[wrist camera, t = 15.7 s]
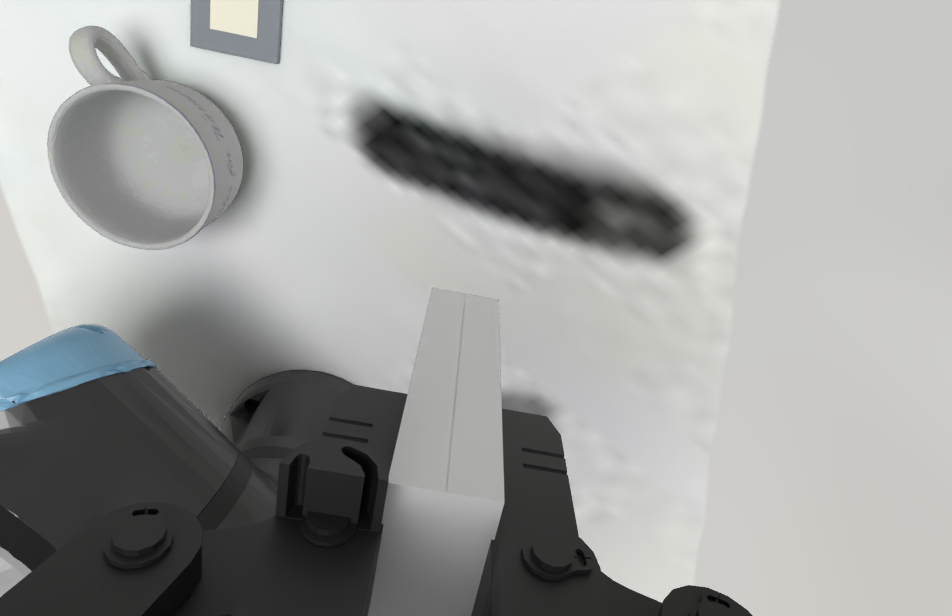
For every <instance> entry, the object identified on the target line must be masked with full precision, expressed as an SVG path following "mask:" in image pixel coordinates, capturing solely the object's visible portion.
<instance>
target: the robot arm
mask: <svg viewBox="0 0 952 616" xmlns="http://www.w3.org/2000/svg"><path fill="white" fill-rule="evenodd" d="M156 366H157V365H156V364H155V363H154V362H153V361H150V360H146V359H144V358H143V357H142V356H141V355H140V354H138V353H137V352H136V351H135V350H134V349H133V348H132V347H130V346H129V345H128V344H127V343H126V342H125V341H124V340H122V339H121V338H120V337H119V336H118V335H117V334H116V333H114V332H113V331H111V330H110V329H108V328H106V327H103V326H99V325H89V324H86V325H79V326H75V327H71V328H68V329H66V330H63V331H61V332H58V333H56V334H54V335H51V336H49V337H47V338H45V339H43V340H41V341H39V342H37V343H35V344H33V345H31V346H29V347H27V348H25V349H23V350H21V351H19V352H18V353H16V354H14V355H12V356H10V357H8V358H7V359H5V360H3V361H1V362H0V616H752V615H751V614H750V613H749V611H748V610H746V609H745V608H743V607H742V606H741V605H739V604H738V603H737V602H735V601H734V600H732V599H731V598H729V597H728V596H726V595H724V594H721V593H719V592H717V591H714V590H712V589H709V588H705V587H698V586H690V585H688V586H684V587H680V588H676V589H673V590H672V591H671V592H670V593H669V595H668V596H667V597H666V598H665V599H664V600H663V603H660V602H658V601H656V600H654V599H651V598H649V597H647V596H644V595H642V594H640V593H637V592H635V591H633V590H630V589H628V588H626V587H624V586H622V585H621V584H619V583H617V582H615V581H613V580H612V579H610V578H609V577H608V576H606V575H605V574H604V573H603V572H601V570H600V566H599V564H598V562H597V559H596V557H595V555H594V552H593V551H592V550H591V549H590V548H589V547H588V546H587V545H586V544H585V542H584V541H583V540H582V539H581V538H579V536H578V530H577V525H576V519H575V513H574V508H573V502H572V496H571V491H570V485H569V479H568V475H567V468H566V462H565V459H564V451H563V445H562V439H561V435H560V434H559V432H558V431H557V430H556V428H555V427H554V426H553V424H552V423H551V422H550V420H549V419H548V418H547V417H546V416H540V415H535V414H529V413H523V412H518V411H512V410H506V409H502V401H501V367H500V334H499V301H498V300H496V299H491V298H485V297H480V296H475V295H469V294H464V293H458V292H453V291H448V290H442V289H437V288H432V291H431V296H430V300H429V304H428V309H427V313H426V317H425V322H424V326H423V330H422V334H421V339H420V343H419V347H418V352H417V356H416V360H415V365H414V369H413V373H412V378H411V382H410V386H409V390H408V394H403V393H397V392H392V391H386V390H380V389H375V388H369V387H363V386H357V385H352V384H350V383H348V382H346V381H344V380H342V379H340V378H337V377H335V376H332V375H328V374H325V373H320V372H315V371H305V370H296V371H285V372H280V373H276V374H273V375H270V376H267V377H265V378H263V379H261V380H259V381H257V382H255V383H254V384H252V385H251V386H250V387H248V388H247V389H246V390H245V391H244V392H243V393H242V394H241V395H240V397H239V398H238V399H237V401H236V402H235V404H234V405H233V407H232V408H231V409H230V411H229V413H228V414H227V416H226V418H225V420H224V423H223V425H222V428H221V431H220V430H219V429H218V428H217V427H215V426H214V425H213V424H212V423H211V422H210V421H209V420H208V419H207V418H206V417H205V416H204V415H203V414H202V413H201V412H200V411H199V410H198V409H197V408H196V407H195V406H194V405H193V404H192V403H191V402H190V401H189V400H188V399H187V398H186V397H185V396H184V395H183V394H182V393H181V392H180V391H179V390H178V389H177V388H176V387H175V386H174V385H173V384H172V383H171V382H170V381H169V380H168V379H167V378H166V377H164V376H163V375H162V374H161V373H160V372H159V371H158V370H157V369H156Z"/></svg>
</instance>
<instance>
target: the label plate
mask: <svg viewBox="0 0 952 616" xmlns="http://www.w3.org/2000/svg"><path fill="white" fill-rule="evenodd" d="M282 11H283V0H191V43H190V46H193V47H198V48H202V49H207V50H212V51H217V52H222V53H227V54H231V55H236V56H241V57H246V58H251V59H256V60H261V61H265V62H270V63H275V64H279V60H280V44H281V27H282Z"/></svg>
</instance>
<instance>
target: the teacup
mask: <svg viewBox="0 0 952 616" xmlns="http://www.w3.org/2000/svg"><path fill="white" fill-rule="evenodd" d="M95 47H96V48H97V49H98V50H99V51H101V53H102V54H103V55H104V56H105V57H106V58H107V59H108V60H109V61H110V63H111V64H112V65H113V66H114V68H115V69H116V71H117V72H118V73H119V75H120V76H121V78H122V79H121V78H119V77H117V76H114V75H113V74H111V73H110V72H109V71H108V70H107V69H106V68H105V67H104V66H103V65H102V63H101V62H100V60H99V58H98V56H97V53H96V50H95ZM69 51H70V55H71V58H72V60H73V63H74V65H75V67H76V68H77V70H78V71H79V73H80V74H81V75H82V76H83V77H84V78H85V80H86V81H87V82H88V83H89V84H90V85H91V86H89V87H86V88H84V89H82V90H80V91H78V92H76V93H75V94H73V95H72V96H71V97H69V98H68V99H67V100H66V101H65V102H64V103H63V104H62V105H61V106H60V107H59V109H58V110H57V112H56V113H55V115H54V117H53V120H52V122H51V125H50V128H49V133H48V142H47V146H48V158H49V162H50V168H51V172H52V175H53V178H54V181H55V183H56V185H57V187H58V189H59V191H60V192H61V194H62V196H63V198H64V199H65V201H66V202H67V203H68V205H69V206H70V207H71V209H72V210H73V211H74V212H75V213H76V214H77V215H78V216H79V217H80V218H81V219H82V220H83V221H84V222H85V223H86V224H87V225H88V226H90V227H91V228H92V229H94V230H95V231H96V232H98V233H99V234H101V235H103V236H105V237H106V238H108V239H110V240H112V241H114V242H117V243H119V244H122V245H126V246H129V247H133V248H139V249H146V250H160V249H168V248H171V247H174V246H177V245H180V244H182V243H184V242H186V241H188V240H189V239H191V238H192V237H194V236H195V235H196V234H197V233H198V232H199V231H200V230H201V229H202V228H204V227H205V226H206V225H208V224H209V223H211V222H212V221H213V220H215V219H216V218H217V217H218V216H219V215H221V214H222V213H223V212H224V211H225V210H226V209H227V208H228V206H229V205H230V204H231V203H232V201H233V200H234V198H235V196H236V194H237V192H238V190H239V187H240V184H241V181H242V175H243V156H242V151H241V147H240V143H239V140H238V137H237V135H236V133H235V131H234V129H233V127H232V125H231V124H230V122H229V121H228V119H227V117H226V116H225V115H224V114H223V112H222V111H221V110H220V109H219V108H218V107H217V106H216V105H215V104H214V103H213V102H211V101H210V100H209V99H208V98H206V97H205V96H204V95H202V94H200V93H199V92H197V91H195V90H194V89H191V88H189V87H187V86H184V85H182V84H178V83H175V82H171V81H165V80H151V79H150V77H149V76H148V75H147V74H146V73H145V72H144V71H143V70H141V68H140V67H139V66H138V64H137V63H136V61H135V60H134V59H133V57H132V56H131V55H130V54H129V52H128V51H127V50H126V48H125V47H124V46H123V45H122V43H121V42H120V41H119V40H118V39H117V38H116V37H115V36H114V35H113V34H111V33H110V32H109V31H107V30H106V29H104V28H102V27H99V26H86V27H83V28H81V29H78V30H77V31H75V32H74V33H73V34H72V36H71V37H70V40H69Z"/></svg>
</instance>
